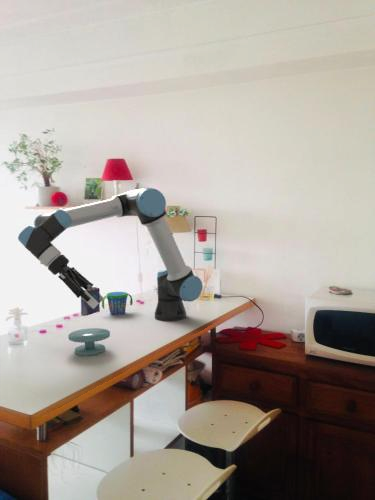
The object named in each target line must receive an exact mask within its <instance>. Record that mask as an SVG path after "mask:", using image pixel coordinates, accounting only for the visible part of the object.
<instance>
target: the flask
mask: <svg viewBox="0 0 375 500" xmlns="http://www.w3.org/2000/svg"><path fill="white" fill-rule="evenodd" d="M87 286H88V285H87ZM87 289H88V290H85V289H83V290H84V291H87V292H88V293H89V294H90V295H91V296H92V297H93V298H94V299H95V300H96V301H97V302H98V303H99V304H98V305H97V306H96V307H95V308H94V309H93V308H92V307H91V306H90V305H89V304H88V303H87V302H86V301H84V300H83V299H82V298H81V297H80V315H81V316H82V317H85V316H89V315H92V314H96V313H99V312H100V310H101V308H100V305H101V302H100V300H99V298H100V297H99V295H101V293H100V288H99V287H97V286H96V287H95V286H92V287H91V285H89V286H88V288H87Z"/></svg>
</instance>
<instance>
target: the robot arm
mask: <svg viewBox="0 0 375 500" xmlns="http://www.w3.org/2000/svg"><path fill="white" fill-rule="evenodd" d="M166 206H167V201H166V197H165V196H164V194H163V193H162V192H161V191H160V190H158V189H156V188H152V187H145V188H138V189H131V190H128V191H126V192H123V193H120V194H116V195H113V196H112V197H111V198H110V199H105V200H102V201H97V202H93V203H89V204H84V205H80V206H76V207H70V208H65V209H63V208H58V209H56V210H55V211H53V212H49V213H43V214H42V213H41V214H39V215H38V216H36V217H35V219H34V222H33V225H28V226H26V227H25V228H23V230H22V231H21V232H20V233H19V234H18V237H17V239H18V242H19V243H20V244H22V245H23V247H24V248H25V249H26V250H27V251H29V253H31V254H32V255H33V256H34V257H35V258H36V259H37V260H38V261H39V262H40V264H41V265H43V266H45V267H46V268H47V269H48V271H50V272H51V274H53V276H56V275H58V278H59V279H60V280H61V281H62V282H63V283H64V284H65V285H66V286H67V288H68V289H69V290H71V292H72V293H73V295H75V296H76V298H78V299H79V298H80V299H81V298H82V299H83V300H84V301H86V302H87V303H88V304H89V305H90V306H91V307H92V308H93V309H94V308H95V307H96V306H97V305H98V304H99V303H98V302H97V301H96V300H95V299H94V298H93V297H92V296H91V295H90V294H89V293H88V292H87V291H84V290H88V289H87V288H88V286H89V285H91V287H94V283H92V282H91V281H89V280H88V279H87V278H86V277H84V276H83V274H81V273H80V272H79V271H78V270H77V269H76V268H75V267H74V266H72V267H71V266H69V265H68V264H69V263H70V260H69V259H68V258H67V256H65V255H64V254H62V252H61V251H60V250H59V249H58V248H57V247H56V246H55V245H54V244H53V243H52V242H53V241H54V240H55V239H57V238H58V237H59V236H60V235H61V234H62V233H63V232H64V231H66V229H69V228H72V227H76V226H81V225H85V224H88V223H92V222H97V221H102V220H105V219H109V218H113V217H117V218H123V217H137V219H139V222H140V224H141V225H142V226H145V227H146V229H147V231H148V232H149V235H150V237H151V239H152V241H153V243H154V245H155V248H156V250H157V252H158V254H159V255H160V259H161V260H162V263H163V264H164V267H165V269H162V270H159V271H158V272H157V274H156V275H157V277H156V281H157V303H156V307H155V310H154V318H155V319H156V320H158V321H165V322H170V321H180V320H184V319H186V318H187V310H186V308H185V306H184V305H185V304H184V302H189V303H190V302H194V301H196V300H197V299H199V297H200V296H201V294H202V291H203V286H204V285H203V282H202V279H201V278H200V277H198V276H197V275H195V274H194V272H193V270H192V268H191V266H189V265H186V263H185V260H184V258H183V256H182V254H181V251H180V249H179V247H178V245H177V242H176V240H175V238H174V236H173V233H172V231H171V229H170V226H169V225H168V222H167V220H166V216H167V211H166ZM87 285H88V286H87ZM99 297H100V298H99V300H100V303H102V300H103V299H104V297H103V295H102V294H100V295H99Z"/></svg>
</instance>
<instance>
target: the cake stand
mask: <svg viewBox="0 0 375 500" xmlns="http://www.w3.org/2000/svg"><path fill="white" fill-rule="evenodd" d="M110 337H111V331H110V330H109V329H106V328H101V327H100V328H98V327H97V328H95V327H92V328H91V327H90V328H88V327H87V328H83V329H78V330H77V329H76V330H74V331H72V332H70V333H68V340H69V341H70V342H72V343H74V342H75V343H83V344H81V345H78V346H76V347H75V348H74V355H77V356H82V357H84V356H85V357H86V356H87V357H90V356H91V357H92V356H97V355H100V354H103V353H105V351H106V346H105V345H103V344H101V343H97V342H100V341H104V340H106V339H108V338H110Z"/></svg>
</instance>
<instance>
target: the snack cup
mask: <svg viewBox="0 0 375 500" xmlns="http://www.w3.org/2000/svg"><path fill="white" fill-rule="evenodd" d="M128 296H129V297H130V302H129V305H130V306H133V303H134V302H133V298H132V295H131V294H129V293H128V292H127V291H126V292H125V291H111V292H107V293H106V295H105V296H104V297H103V298H104V299H103V300H102V301H101V307H102V309H103V310H104V309H105V300H106V299H107V303H108V309H109V313H110V314H111V315H113V316H116V315H117V316H119V315H124V314H125V313H126V308H127V300H128Z"/></svg>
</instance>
